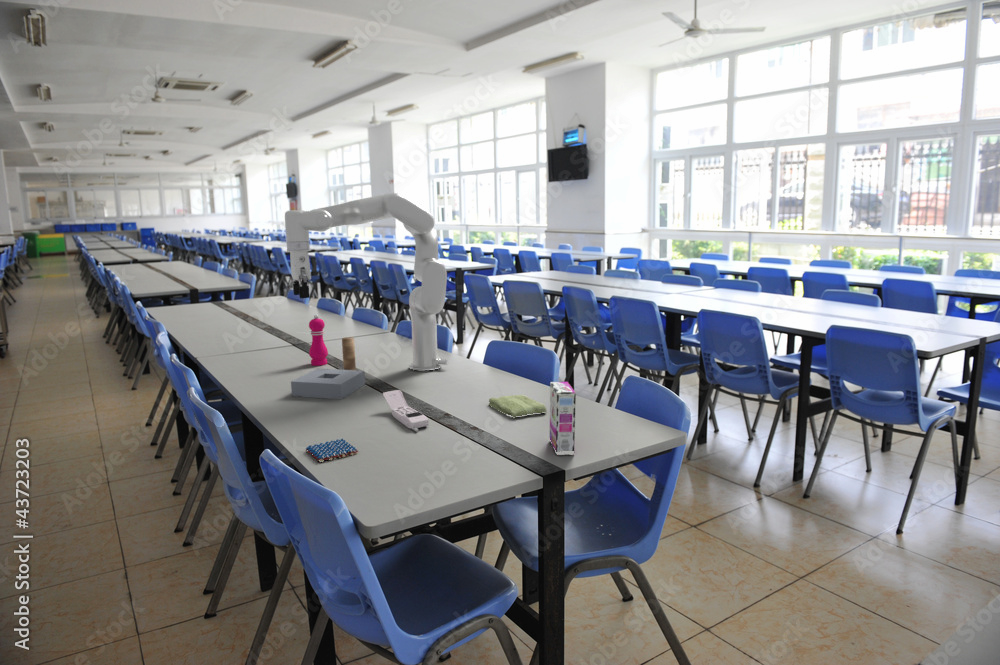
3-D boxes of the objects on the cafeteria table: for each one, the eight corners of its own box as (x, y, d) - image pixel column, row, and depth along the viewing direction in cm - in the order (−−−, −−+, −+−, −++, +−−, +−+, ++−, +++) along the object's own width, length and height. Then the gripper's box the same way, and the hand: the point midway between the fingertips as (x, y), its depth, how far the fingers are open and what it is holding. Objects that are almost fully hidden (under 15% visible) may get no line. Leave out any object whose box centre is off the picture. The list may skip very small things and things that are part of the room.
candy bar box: (575, 455, 164) (576, 392, 161) (555, 456, 164) (556, 393, 161) (567, 440, 175) (568, 380, 172) (548, 440, 175) (549, 381, 171)
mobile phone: (399, 389, 204) (432, 409, 183) (400, 407, 206) (433, 429, 184) (381, 392, 202) (412, 413, 180) (382, 410, 203) (413, 433, 181)
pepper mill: (323, 366, 258) (320, 316, 254) (306, 365, 259) (303, 315, 255) (331, 362, 265) (328, 313, 261) (315, 361, 266) (312, 312, 262)
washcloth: (522, 400, 213) (522, 390, 212) (549, 415, 197) (549, 405, 196) (485, 405, 207) (485, 395, 207) (510, 421, 192) (510, 411, 191)
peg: (358, 374, 246) (356, 337, 243) (352, 377, 241) (350, 339, 239) (347, 373, 247) (345, 337, 244) (341, 376, 242) (339, 339, 240)
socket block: (365, 384, 231) (364, 370, 230) (341, 399, 214) (340, 384, 213) (318, 381, 235) (317, 368, 234) (291, 396, 218) (290, 381, 217)
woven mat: (359, 455, 167) (359, 448, 166) (319, 465, 161) (318, 457, 160) (344, 444, 175) (343, 436, 175) (304, 453, 169) (304, 445, 168)
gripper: (315, 247, 219) (318, 298, 222) (303, 245, 234) (306, 292, 237) (292, 248, 216) (295, 300, 219) (282, 246, 231) (285, 294, 234)
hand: (301, 296), depth 228 cm, fingers open, 9 cm apart
